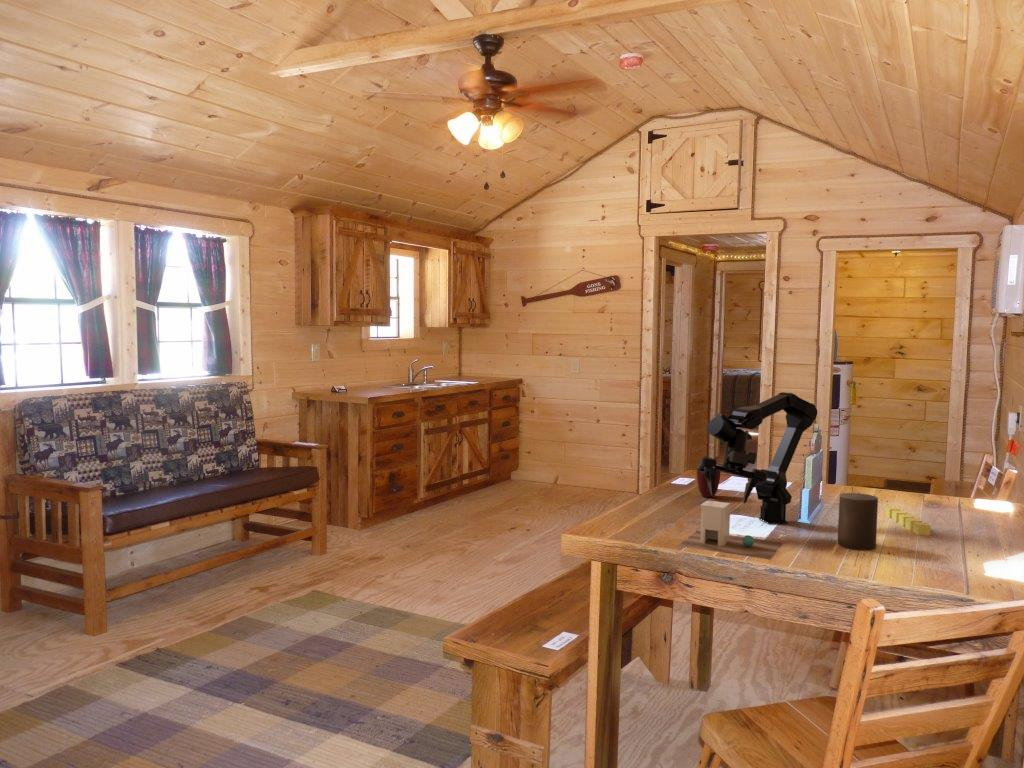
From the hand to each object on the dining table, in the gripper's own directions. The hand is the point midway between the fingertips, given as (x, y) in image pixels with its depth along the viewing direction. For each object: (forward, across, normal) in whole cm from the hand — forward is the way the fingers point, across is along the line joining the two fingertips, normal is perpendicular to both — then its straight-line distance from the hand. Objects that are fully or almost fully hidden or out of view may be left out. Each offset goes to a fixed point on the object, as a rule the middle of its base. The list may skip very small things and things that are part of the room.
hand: (728, 499), depth 222 cm
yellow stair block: (-11, +60, +17) cm, 63 cm away
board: (+14, +2, -4) cm, 15 cm away
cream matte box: (+14, -3, -2) cm, 14 cm away
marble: (+13, +5, -7) cm, 15 cm away
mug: (-16, +5, +50) cm, 52 cm away
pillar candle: (+5, +35, -3) cm, 36 cm away
